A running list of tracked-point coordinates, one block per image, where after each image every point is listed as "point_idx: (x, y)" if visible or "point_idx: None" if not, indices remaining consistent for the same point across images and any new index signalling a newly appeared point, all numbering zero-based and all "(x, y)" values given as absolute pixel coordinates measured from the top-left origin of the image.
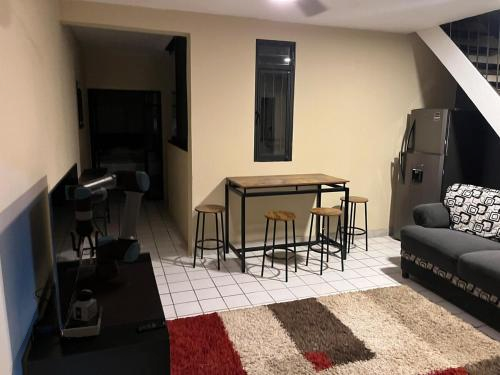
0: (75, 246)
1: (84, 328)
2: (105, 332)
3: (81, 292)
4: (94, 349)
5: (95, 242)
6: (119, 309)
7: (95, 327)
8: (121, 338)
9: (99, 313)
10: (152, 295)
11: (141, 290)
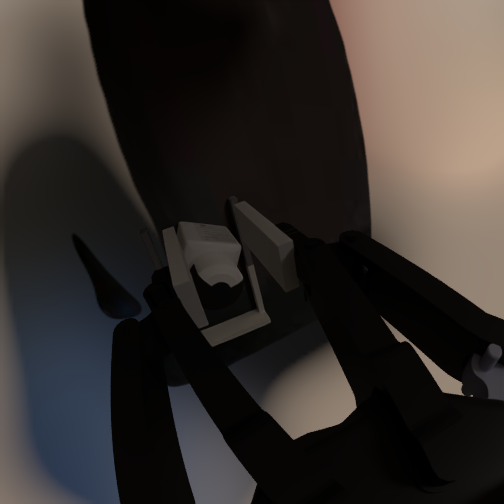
0: (142, 352)
1: (242, 333)
2: (274, 299)
3: (212, 299)
4: (268, 344)
5: (391, 319)
6: (283, 194)
7: (264, 324)
8: (307, 307)
9: (242, 242)
10: (352, 109)
11: (320, 72)
